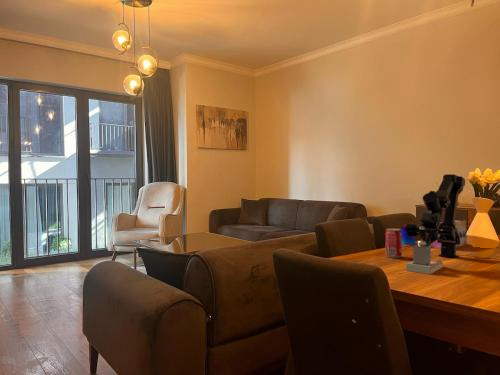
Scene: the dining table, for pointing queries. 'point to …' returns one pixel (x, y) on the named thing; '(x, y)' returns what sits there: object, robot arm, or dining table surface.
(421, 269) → the rail
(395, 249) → the soda can
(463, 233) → the gum box
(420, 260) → the gray block silver cap
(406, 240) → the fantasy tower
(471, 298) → the dining table surface
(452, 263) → the dining table surface
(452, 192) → the robot arm
